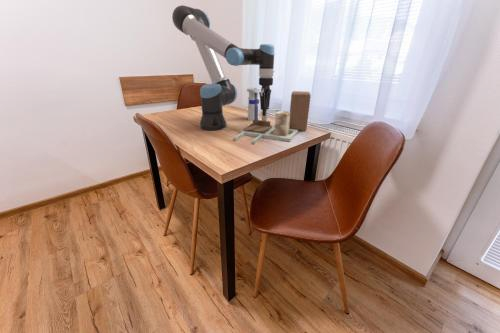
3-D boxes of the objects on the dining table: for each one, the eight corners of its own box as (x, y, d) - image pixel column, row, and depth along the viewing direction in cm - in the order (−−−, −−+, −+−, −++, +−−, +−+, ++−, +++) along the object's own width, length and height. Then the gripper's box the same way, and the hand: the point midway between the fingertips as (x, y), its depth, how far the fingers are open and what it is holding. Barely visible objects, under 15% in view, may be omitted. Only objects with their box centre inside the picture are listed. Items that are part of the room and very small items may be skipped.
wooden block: (306, 131, 122) (310, 94, 113) (288, 130, 124) (291, 93, 115) (305, 126, 131) (310, 91, 122) (289, 125, 132) (292, 90, 124)
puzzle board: (231, 140, 109) (231, 137, 108) (252, 126, 130) (252, 124, 129) (284, 148, 99) (284, 145, 98) (297, 132, 120) (297, 129, 119)
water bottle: (254, 116, 151) (255, 78, 140) (261, 119, 145) (263, 79, 134) (244, 118, 148) (244, 78, 136) (251, 121, 141) (251, 79, 130)
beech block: (274, 136, 115) (275, 113, 109) (277, 132, 119) (279, 110, 114) (285, 137, 112) (287, 114, 107) (288, 134, 117) (290, 111, 112)
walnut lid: (243, 130, 117) (243, 124, 116) (252, 124, 127) (252, 119, 126) (264, 133, 113) (264, 127, 112) (272, 127, 123) (272, 121, 121)
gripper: (268, 78, 110) (266, 124, 121) (276, 76, 121) (274, 118, 131) (254, 77, 113) (254, 122, 123) (263, 76, 123) (262, 117, 134)
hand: (264, 120), depth 127 cm, fingers closed
